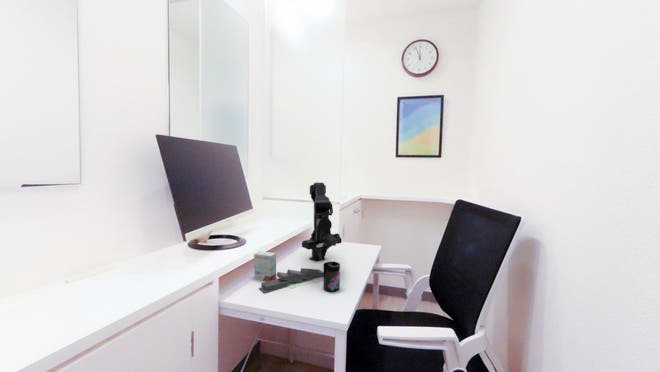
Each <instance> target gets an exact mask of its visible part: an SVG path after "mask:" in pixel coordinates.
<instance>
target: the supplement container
mask: <svg viewBox="0 0 660 372" xmlns="http://www.w3.org/2000/svg"><path fill="white" fill-rule="evenodd" d="M322 266H323V268H322V270H324V273H323V279H322V280H323V290H324V291H325V292H328V293H336V292H338V291H339V290H340V286H341V264H340V262H337V261H326V262H324V263H323V265H322Z"/></svg>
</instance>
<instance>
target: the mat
mask: <svg viewBox="0 0 660 372" xmlns="http://www.w3.org/2000/svg"><path fill="white" fill-rule="evenodd" d="M320 270H321V271H322V272H324V269H320ZM322 280H323V276H312V280H307V279H303V280H302V283H301V282H294V281H289V285H287V287H288V288H290V289H295V288H297V287H298V288H299V287H301V286H305V285H308V284H311V283H315V282H318V281H322Z"/></svg>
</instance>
